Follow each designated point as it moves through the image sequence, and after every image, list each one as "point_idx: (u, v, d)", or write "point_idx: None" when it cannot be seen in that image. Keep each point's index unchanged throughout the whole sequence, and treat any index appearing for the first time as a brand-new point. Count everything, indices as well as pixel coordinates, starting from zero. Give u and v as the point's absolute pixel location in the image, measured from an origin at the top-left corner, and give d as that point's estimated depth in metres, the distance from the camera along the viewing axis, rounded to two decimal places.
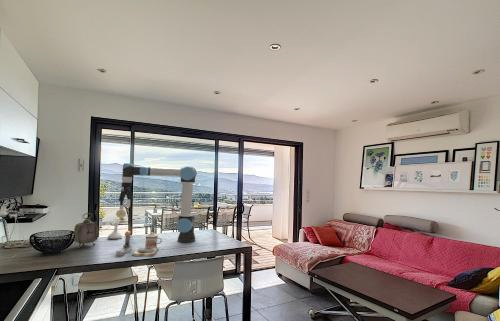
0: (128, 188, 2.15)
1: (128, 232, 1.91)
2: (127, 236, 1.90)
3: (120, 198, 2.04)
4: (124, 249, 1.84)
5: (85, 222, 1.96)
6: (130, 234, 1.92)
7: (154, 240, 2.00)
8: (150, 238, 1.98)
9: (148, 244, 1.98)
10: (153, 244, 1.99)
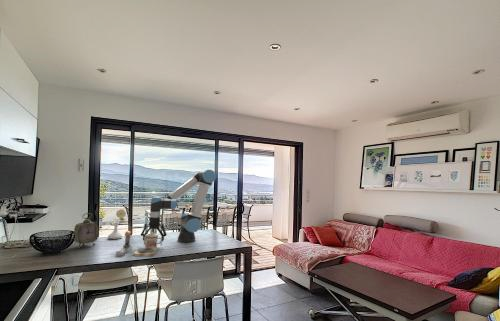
0: (156, 223, 2.03)
1: (128, 232, 1.91)
2: (127, 236, 1.90)
3: (141, 233, 2.03)
4: (124, 249, 1.84)
5: (85, 222, 1.96)
6: (130, 234, 1.92)
7: (154, 240, 2.00)
8: (150, 238, 1.98)
9: (148, 244, 1.98)
10: (153, 244, 1.99)
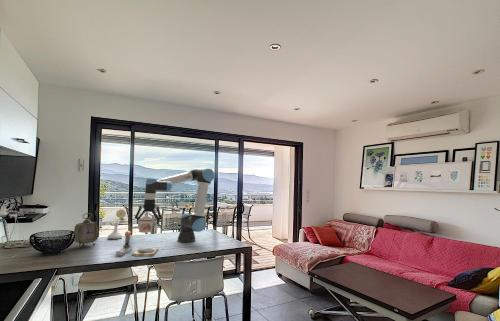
0: (151, 206, 1.91)
1: (128, 232, 1.91)
2: (127, 236, 1.90)
3: None
4: (124, 249, 1.84)
5: (85, 222, 1.96)
6: (130, 234, 1.92)
7: (148, 223, 1.87)
8: (144, 221, 1.86)
9: (142, 228, 1.86)
10: (147, 227, 1.87)
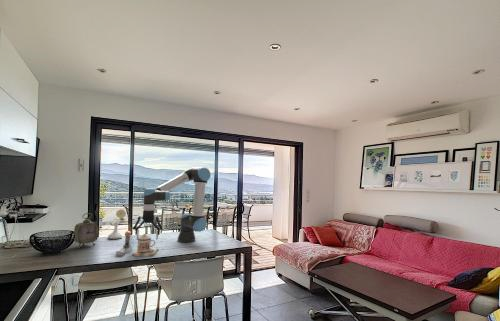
0: (150, 217, 1.89)
1: (128, 232, 1.91)
2: (127, 236, 1.90)
3: None
4: (124, 249, 1.84)
5: (85, 222, 1.96)
6: (130, 234, 1.92)
7: (147, 242, 1.85)
8: (143, 240, 1.84)
9: (140, 247, 1.84)
10: (146, 247, 1.85)
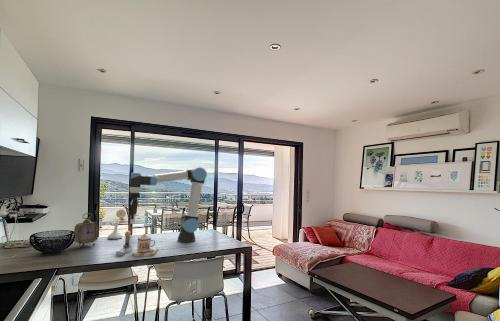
0: (136, 198, 2.04)
1: (128, 232, 1.91)
2: (127, 236, 1.90)
3: (131, 213, 1.97)
4: (124, 249, 1.84)
5: (85, 222, 1.96)
6: (130, 234, 1.92)
7: (147, 242, 1.85)
8: (142, 240, 1.84)
9: (140, 247, 1.84)
10: (146, 247, 1.85)
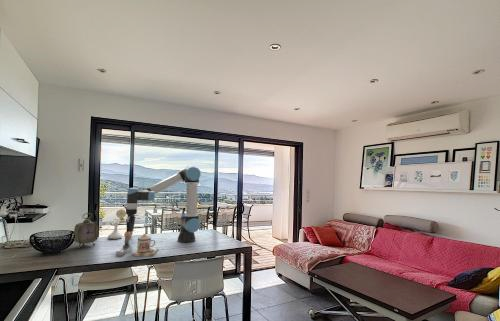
0: (133, 214, 2.00)
1: (128, 232, 1.90)
2: (127, 236, 1.89)
3: (127, 230, 1.93)
4: (124, 249, 1.84)
5: (85, 222, 1.96)
6: (130, 234, 1.91)
7: (147, 242, 1.85)
8: (142, 240, 1.84)
9: (140, 247, 1.84)
10: (146, 247, 1.85)
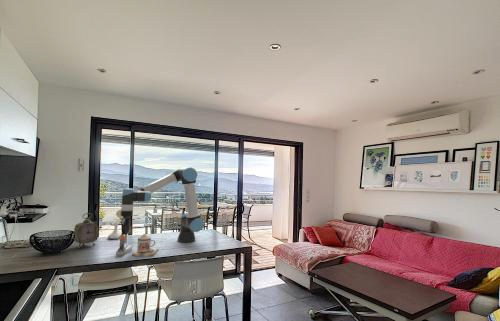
0: (129, 215, 1.90)
1: (123, 235, 1.81)
2: (121, 239, 1.80)
3: (122, 232, 1.83)
4: None
5: (85, 222, 1.96)
6: (125, 237, 1.81)
7: (147, 242, 1.85)
8: (142, 240, 1.84)
9: (140, 247, 1.84)
10: (146, 247, 1.85)
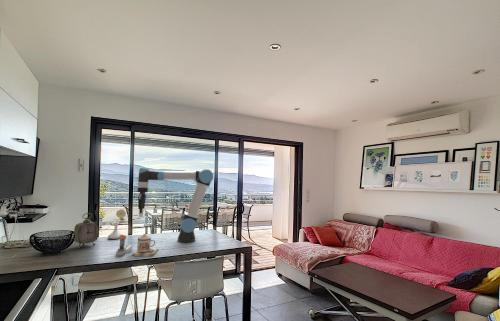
0: (144, 192, 2.11)
1: (123, 235, 1.81)
2: (122, 239, 1.80)
3: (139, 206, 2.04)
4: None
5: (85, 222, 1.96)
6: (125, 237, 1.82)
7: (147, 242, 1.85)
8: (142, 240, 1.84)
9: (140, 247, 1.84)
10: (146, 247, 1.85)
